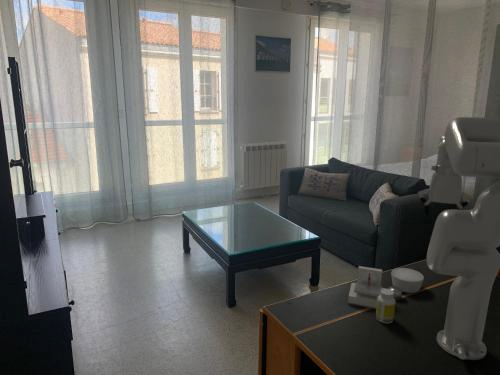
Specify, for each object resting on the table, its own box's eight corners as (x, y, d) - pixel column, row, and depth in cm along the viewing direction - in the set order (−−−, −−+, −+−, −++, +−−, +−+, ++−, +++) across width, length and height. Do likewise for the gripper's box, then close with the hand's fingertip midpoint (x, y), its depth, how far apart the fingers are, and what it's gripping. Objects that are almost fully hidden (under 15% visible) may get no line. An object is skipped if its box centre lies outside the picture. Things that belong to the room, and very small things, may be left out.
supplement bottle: (396, 318, 121) (399, 291, 119) (389, 326, 118) (392, 298, 115) (379, 312, 125) (382, 285, 123) (372, 319, 121) (375, 291, 119)
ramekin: (383, 283, 144) (384, 271, 143) (404, 277, 149) (405, 265, 148) (407, 297, 134) (409, 284, 133) (428, 290, 139) (430, 277, 138)
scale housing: (385, 311, 126) (388, 283, 123) (347, 303, 130) (349, 277, 127) (385, 296, 135) (388, 270, 132) (350, 289, 139) (352, 264, 137)
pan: (380, 299, 126) (381, 295, 126) (353, 294, 129) (354, 290, 129) (381, 290, 132) (381, 285, 132) (355, 286, 135) (356, 281, 135)
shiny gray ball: (401, 301, 132) (401, 293, 131) (387, 298, 134) (388, 291, 133) (400, 294, 136) (401, 287, 135) (388, 292, 138) (388, 285, 137)
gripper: (421, 170, 132) (415, 216, 136) (477, 174, 126) (470, 223, 130) (420, 166, 139) (415, 211, 143) (473, 170, 133) (466, 216, 137)
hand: (441, 216), depth 136 cm, fingers open, 9 cm apart
